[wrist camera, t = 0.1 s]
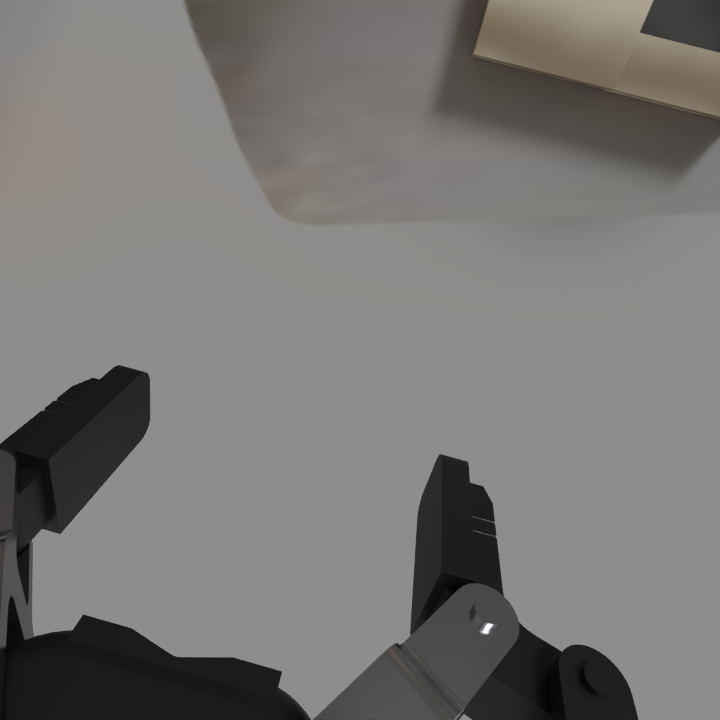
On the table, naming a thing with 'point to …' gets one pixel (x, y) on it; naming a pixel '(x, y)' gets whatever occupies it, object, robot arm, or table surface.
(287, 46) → the table surface
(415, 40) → the table surface
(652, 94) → the hole board
